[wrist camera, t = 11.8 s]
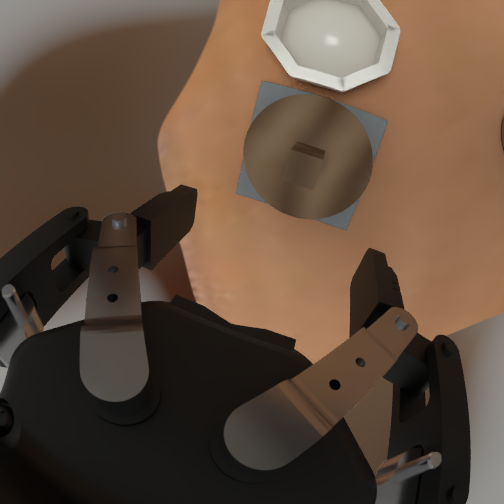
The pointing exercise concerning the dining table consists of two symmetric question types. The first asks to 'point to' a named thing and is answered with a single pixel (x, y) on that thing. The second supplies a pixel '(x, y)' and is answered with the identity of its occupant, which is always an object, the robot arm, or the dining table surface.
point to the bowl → (332, 40)
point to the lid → (308, 156)
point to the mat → (369, 122)
